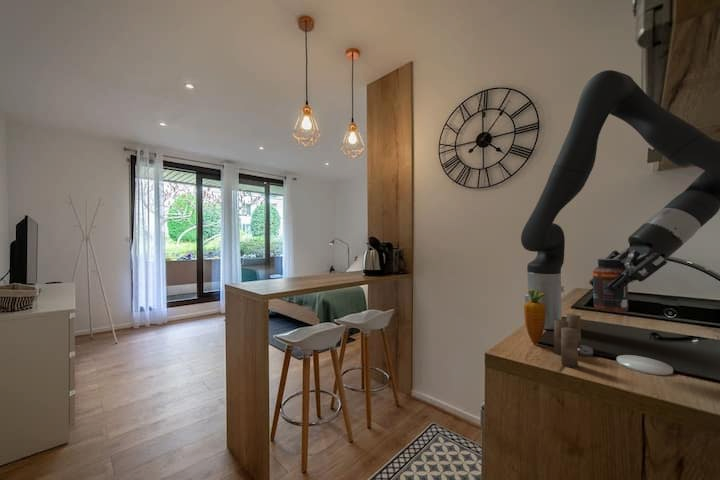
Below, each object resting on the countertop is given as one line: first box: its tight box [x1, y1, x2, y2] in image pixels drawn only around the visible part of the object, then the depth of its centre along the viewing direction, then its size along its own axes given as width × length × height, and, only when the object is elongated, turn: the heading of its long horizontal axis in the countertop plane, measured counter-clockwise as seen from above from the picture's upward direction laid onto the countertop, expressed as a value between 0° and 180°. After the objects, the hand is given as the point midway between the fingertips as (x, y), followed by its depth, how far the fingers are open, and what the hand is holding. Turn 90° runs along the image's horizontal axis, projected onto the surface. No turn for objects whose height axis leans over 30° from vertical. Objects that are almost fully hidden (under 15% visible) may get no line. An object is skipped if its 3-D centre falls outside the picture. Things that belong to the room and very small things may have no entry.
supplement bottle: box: [592, 258, 629, 313], centre depth 66 cm, size 6×6×11 cm
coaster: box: [616, 354, 674, 376], centre depth 65 cm, size 9×9×1 cm
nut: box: [578, 344, 594, 357], centre depth 73 cm, size 4×4×1 cm
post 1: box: [553, 319, 569, 356], centre depth 73 cm, size 3×3×8 cm
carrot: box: [523, 289, 545, 345], centre depth 79 cm, size 5×5×15 cm
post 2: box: [565, 313, 582, 345], centre depth 78 cm, size 3×3×8 cm
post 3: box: [560, 327, 579, 369], centre depth 66 cm, size 3×3×8 cm
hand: (601, 287), depth 66 cm, fingers closed on supplement bottle, 6 cm apart
